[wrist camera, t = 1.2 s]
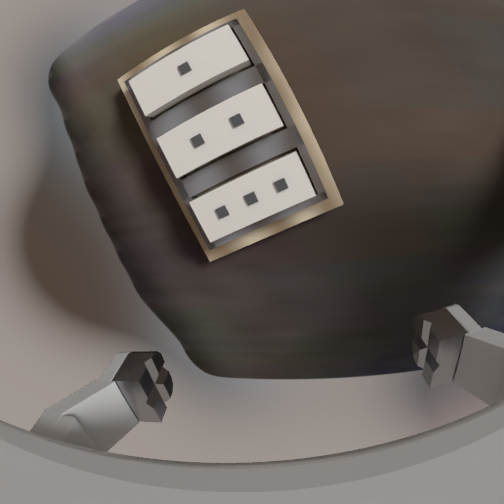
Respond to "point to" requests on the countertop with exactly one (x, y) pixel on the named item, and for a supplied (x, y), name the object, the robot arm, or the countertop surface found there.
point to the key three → (253, 196)
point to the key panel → (248, 155)
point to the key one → (188, 71)
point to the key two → (219, 130)
